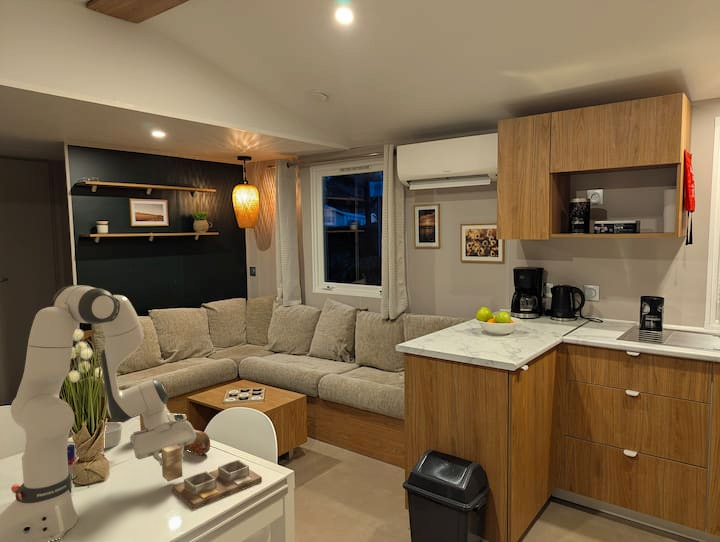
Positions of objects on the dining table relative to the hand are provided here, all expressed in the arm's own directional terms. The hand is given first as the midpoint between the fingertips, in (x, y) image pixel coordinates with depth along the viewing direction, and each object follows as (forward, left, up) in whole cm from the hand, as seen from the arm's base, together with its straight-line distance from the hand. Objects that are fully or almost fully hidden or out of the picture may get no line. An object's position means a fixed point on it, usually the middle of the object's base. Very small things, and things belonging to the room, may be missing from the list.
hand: (172, 461), depth 169 cm
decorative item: (+11, +49, -8) cm, 51 cm away
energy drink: (-24, +32, -8) cm, 40 cm away
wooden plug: (0, +1, -5) cm, 5 cm away
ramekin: (-6, +54, -8) cm, 55 cm away
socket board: (+10, -11, -8) cm, 17 cm away
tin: (+17, +20, -8) cm, 27 cm away
